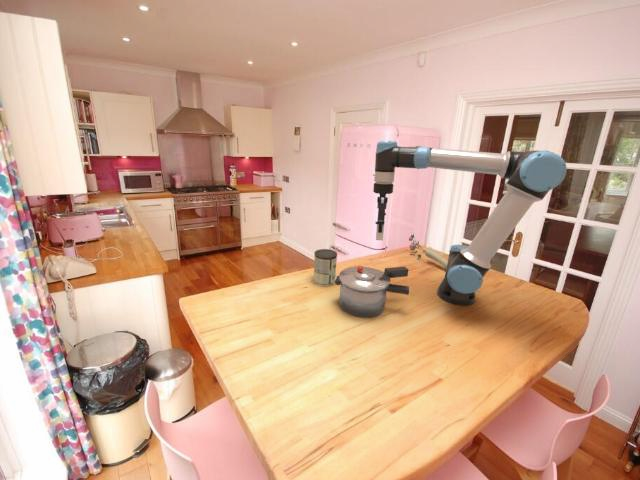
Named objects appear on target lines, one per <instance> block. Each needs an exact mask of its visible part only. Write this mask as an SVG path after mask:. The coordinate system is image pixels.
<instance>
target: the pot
mask: <svg viewBox="0 0 640 480" xmlns="http://www.w3.org/2000/svg"><path fill="white" fill-rule="evenodd" d="M334 285H336V286H340V291H339V301H338V304H339V307H340V309H341V310H342V311H343V312H344V313H346V314H348V315H349V316H353V317H355V318H361V319H369V318H372V319H373V318H376V317H379V316H381V315H382V314H383V313H384V311H385V305H386V300H387V299H386V298H387V293H394V294H400V295H409V294H410V286H408V285H401V284H394V283H390V285H389V287H388V288H387V289H385V290H383V291H380V292H360V291H355V290H352V289H350V288H347V287H346V286H344V285H343V284H342V283H341V282H340V280H339V275H337V276H336V278H335V283H334Z"/></svg>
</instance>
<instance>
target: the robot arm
mask: <svg viewBox="0 0 640 480" xmlns="http://www.w3.org/2000/svg"><path fill="white" fill-rule="evenodd" d="M396 168H403V169H417V170H421V169H422V170H423V169H428V168H432V169H433V168H434V169H442V170H450V171H460V172H468V173H476V174H477V173H478V174H485V175H486V174H487V175H496V176H499V177H500V178H501V179H505V180H506V179H507V180H508V181H506V183H505V185H506V189H507V190H506V192H505V193H504V195H503V196H502V198H501V199H500V200H499V202H498V203H497V204H496V206H495V208H494V209H493V210H492V212H491V214H489V216H488V217H487V219H486V220H485V222H484V223H483V225H482V226H481V228H480V229H479V230H478V232H477V234H476V235H475V236H474V238H473V239H472V240H471V242H470V244H469V245H464V244H454V245H451V246H450V249H449V250H448V251H449V254H448V259H447V260H448V263H447V268H445V274H444V278H443V279H442V281H441V282H440V284H439V286H438V287H437V295H438V297H440V298H441V299H442V300H444V301H446V302H448V303H451V304H454V305H459V306H470V305H472V304H474V303H475V301H476V298H477V297H476V296H477V295H476V292H478V290H480V288H481V287H482V285H483V282H484V278H485V276H486V274H487V273H488V272H489V270H490V269H491V267H492V264H491V260H492V259H493V257H494V256H495V255H496V254H497V252H498V251H499V249H500V248H501V247H502V246H503V244H504V242H505V241H506V240H507V239H508V238H509V236H510V235H511V233H512V232H513V231H514V229H515V228H516V227H517V225H518V224H519V223H520V221H521V220H522V219H523V218H524V216H525V215H526V213H527V212H528V211H529V210H530V208H531V206H532V205H533V204H534V203H537V202H540V201H543V200H544V198H545V197H546V196H547V195H548V193H549V192H550V191H552V190H553V189H555V188H557V187H558V186H559V185H560V184H562V182H563V181H564V180H565V178H566V176H567V171H568V170H567V164H566V161H565V159H563V157H562V156H561V155H560V154H558V153H555V152H553V151H550V150H527V151H511V150H510V151H509V150H508V151H507V152H505V153H498V152H488V151H487V152H486V151H477V150H476V151H473V150H461V149H452V148H451V149H450V148H440V147H438V148H437V147H426V146H418V145H417V146H399V145H398V142H397V141H396V140H379V141H378V142H377V143H376V151H375V166H374V173H373V174H372V176H373V177H374V179H373V181H374V183H373V191H372V192H374V193H375V194H379V196H377V199H376V200H377V201H376V202H377V203H376V204H377V207H376V208H377V209H378V210H377V211H378V212H377V221H375V225H376V231H375V232H376V233H375V241H384V234H385V233H384V231H385V217H386V215H387V212H386V209H387V205H388V201H389V200H388V196H387V195H390V194H393V193H394V182H395V173H396Z"/></svg>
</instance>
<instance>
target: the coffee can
mask: <svg viewBox="0 0 640 480" xmlns="http://www.w3.org/2000/svg"><path fill="white" fill-rule="evenodd" d="M313 255H314V261H313V262H314V265H313V266H314V267H313V283H314V284H315V285H317V286H321V287H330V286H333V285H335V280H336V278H337V276H336V275H337V274H336V273H337V260H338V252H337V251H336V250H333V249H328V248H321V249H316V250H315V251H314V254H313Z"/></svg>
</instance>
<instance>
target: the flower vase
mask: <svg viewBox="0 0 640 480" xmlns="http://www.w3.org/2000/svg"><path fill="white" fill-rule="evenodd" d="M414 234H415V233H414V232H413V234H411V235H410V237H408V241H410V242H411V241H412V243H410V244H409V250H410V251H412V253H413V254H415V253H416V254H417V253H418V250H421V251H422V254H417V255H416V257H417V259H418V260H420V258H421V257H422V255H425V256H426V257H427V258H429V259H431V260H433V261H435V262H437V263H439V264H440V265H441V266H443V267H444V268H445V269H446V268H447V263H448V259H446V258H444V257H443V256H442V255H441V254H440V253H438V251H436V250H435V249H434V248H432V247H431V246H429V247H428V248H427V249H426V250H424V249H423V247H422V246H421V245H420V242H419V241H420V240H418V241H417V240H414V239H415V235H414ZM416 249H418V250H416Z"/></svg>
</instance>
